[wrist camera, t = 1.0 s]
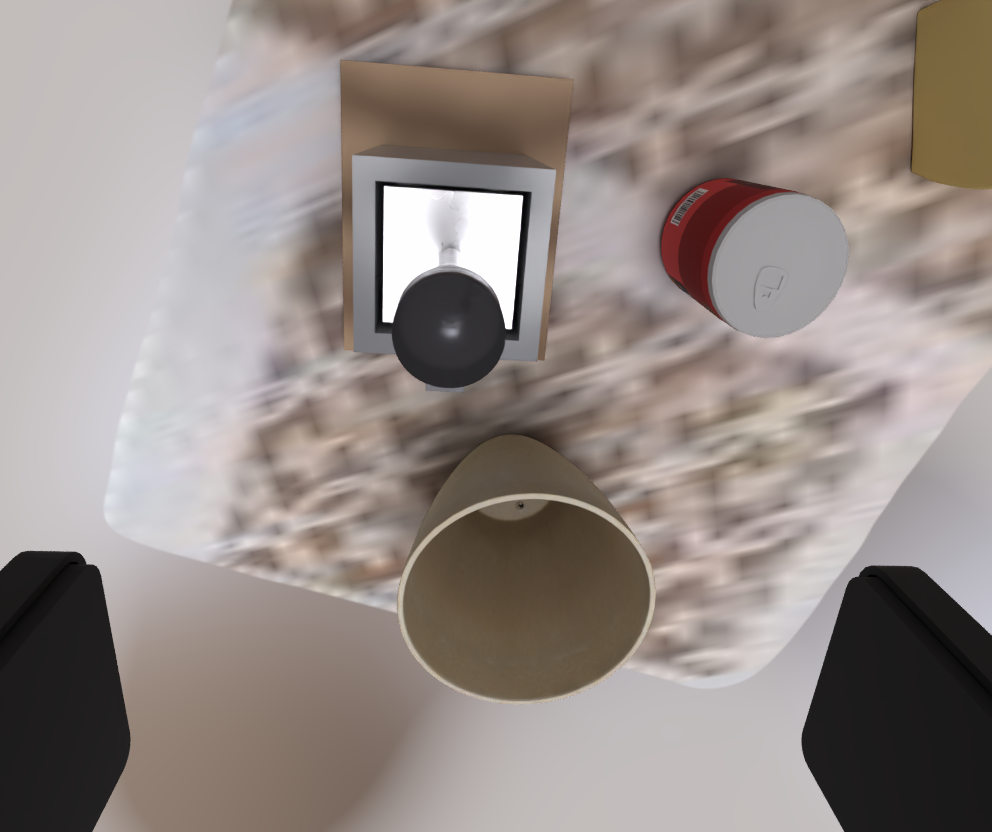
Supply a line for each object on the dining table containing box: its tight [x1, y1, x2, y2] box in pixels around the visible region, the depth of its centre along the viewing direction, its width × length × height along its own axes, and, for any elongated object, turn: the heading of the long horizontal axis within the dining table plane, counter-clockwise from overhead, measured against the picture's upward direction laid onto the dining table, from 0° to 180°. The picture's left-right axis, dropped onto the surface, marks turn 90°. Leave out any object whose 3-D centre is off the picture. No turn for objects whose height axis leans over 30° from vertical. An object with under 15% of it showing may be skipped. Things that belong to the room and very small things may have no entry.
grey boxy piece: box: [352, 144, 556, 392], centre depth 40 cm, size 12×9×14 cm
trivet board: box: [340, 60, 574, 360], centre depth 46 cm, size 18×14×2 cm
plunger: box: [383, 185, 523, 388], centre depth 28 cm, size 6×6×13 cm
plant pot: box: [397, 434, 656, 704], centre depth 47 cm, size 15×15×16 cm
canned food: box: [661, 178, 848, 338], centre depth 43 cm, size 8×8×11 cm
